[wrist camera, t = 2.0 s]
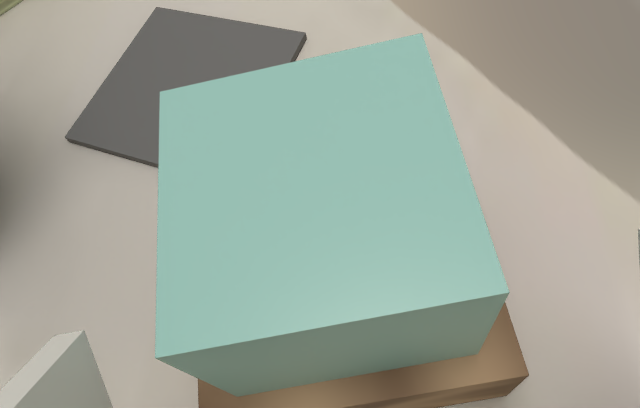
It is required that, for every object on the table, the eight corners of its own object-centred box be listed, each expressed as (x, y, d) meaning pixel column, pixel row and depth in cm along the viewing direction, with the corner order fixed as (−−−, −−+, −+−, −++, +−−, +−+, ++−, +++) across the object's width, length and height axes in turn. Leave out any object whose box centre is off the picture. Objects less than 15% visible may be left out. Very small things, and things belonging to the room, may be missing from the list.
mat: (68, 141, 33) (64, 137, 33) (159, 12, 38) (156, 6, 38) (228, 187, 30) (225, 183, 29) (306, 38, 34) (305, 32, 34)
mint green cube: (237, 397, 19) (155, 358, 13) (225, 192, 24) (159, 91, 17) (477, 354, 19) (509, 292, 12) (419, 151, 23) (421, 33, 17)
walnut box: (239, 441, 23) (177, 427, 17) (227, 225, 29) (176, 157, 22) (506, 395, 22) (541, 363, 16) (441, 182, 28) (449, 98, 22)
